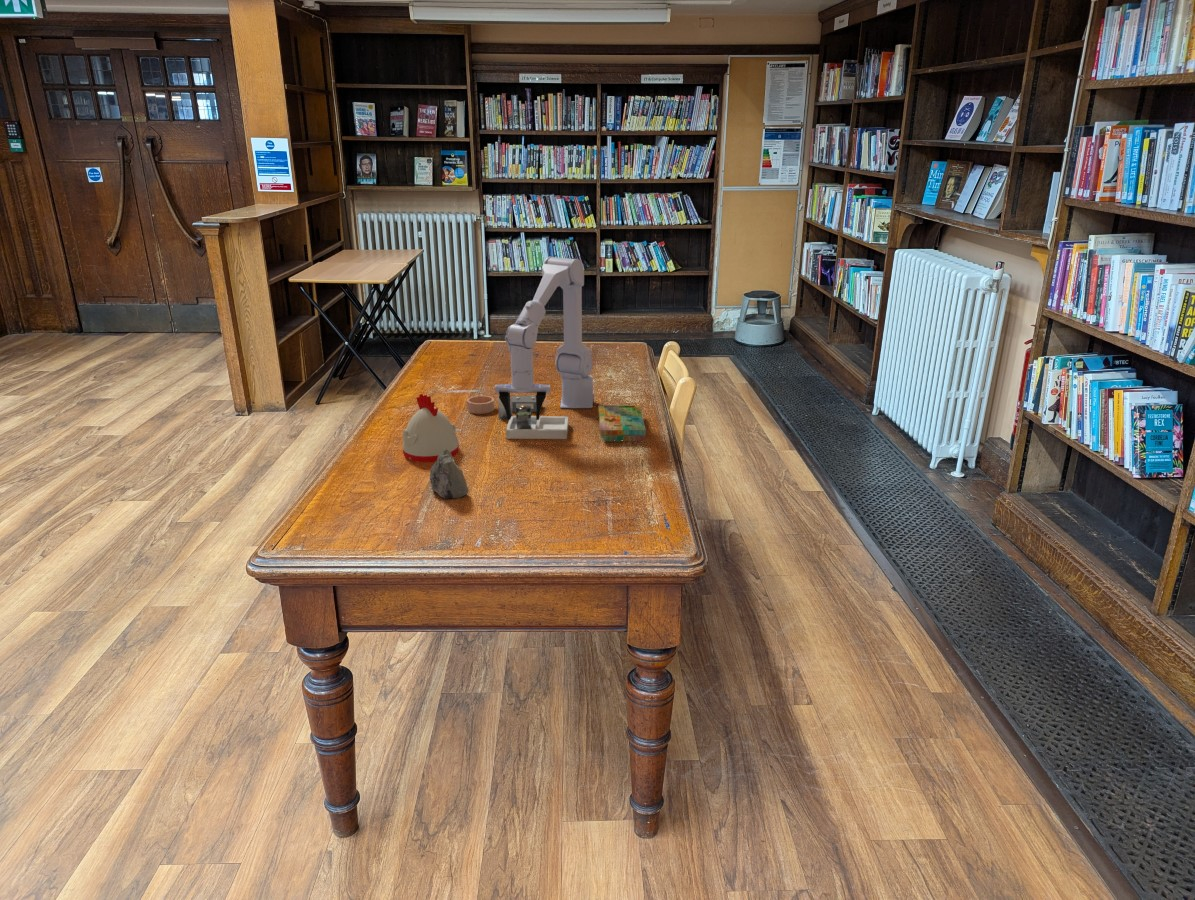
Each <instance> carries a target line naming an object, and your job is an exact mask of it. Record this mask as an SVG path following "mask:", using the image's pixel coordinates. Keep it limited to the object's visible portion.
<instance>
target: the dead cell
mask: <svg viewBox="0 0 1195 900" xmlns="http://www.w3.org/2000/svg"><path fill="white" fill-rule="evenodd" d="M512 397H513V396H512V395H510V408H511V416H514V412H513V408H512ZM497 410H498V411H497V412H498V419H499V420H500V419H501V421H509V420H508V418H507V414H506V411H505V408H504V406H503V404H502V402H501V401H500V399H499V396H498V397H497Z"/></svg>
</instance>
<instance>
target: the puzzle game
mask: <svg viewBox="0 0 1195 900" xmlns="http://www.w3.org/2000/svg"><path fill="white" fill-rule="evenodd" d="M597 410H598V420H599V430H600V437H601V438H602V439H603V440H604V442H641V441H642V440H643V439H644V438H645V436H646V434H647V433H646V431H647V430H646V425H645V422H644V419H643V413H642V409H641V406H640V405H638V404H637V405H633V404H632V405H629V404H627V405H625V404H624V405H619V404H618V405H616V404H615V405H608V404H607V405H605V404H604V405H603V404H602V405H598V407H597ZM614 440H615V441H614ZM621 440H623V441H621Z"/></svg>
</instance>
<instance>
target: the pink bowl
mask: <svg viewBox="0 0 1195 900" xmlns="http://www.w3.org/2000/svg"><path fill="white" fill-rule="evenodd" d="M495 407H496V406H495V398H494V397H493V396H490V395H475V396H471V397H468V398H467V399H466V409H467V412H469V414H470V413H471V414H476V415H481V414H483V415H484V414H490V413H492V412H494V411H495Z"/></svg>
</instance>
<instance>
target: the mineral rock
mask: <svg viewBox="0 0 1195 900" xmlns="http://www.w3.org/2000/svg"><path fill="white" fill-rule="evenodd" d="M429 480H430V484H431V489H432V490H433V491H434V492H436V493H437V494H438V496H440V497H441V498H444V499H445V500H446V499H447V500H448V499H451V498H453V499H460V498H462V497H464V496H466V495H467V494H468V493H469V487H468V485H467V481H466V478H465V476H464V473H463V469H462V468H460V467H459V466H458V465H457V463H456V461H455V459H454V457H452V455H451V453H450V452H449V451H448V450H447V449H446V450H444V451H442V452H441V453H440V455H439V456H438V458H437V461H436V462H434V464H432V466H431V467H430V472H429Z"/></svg>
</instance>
